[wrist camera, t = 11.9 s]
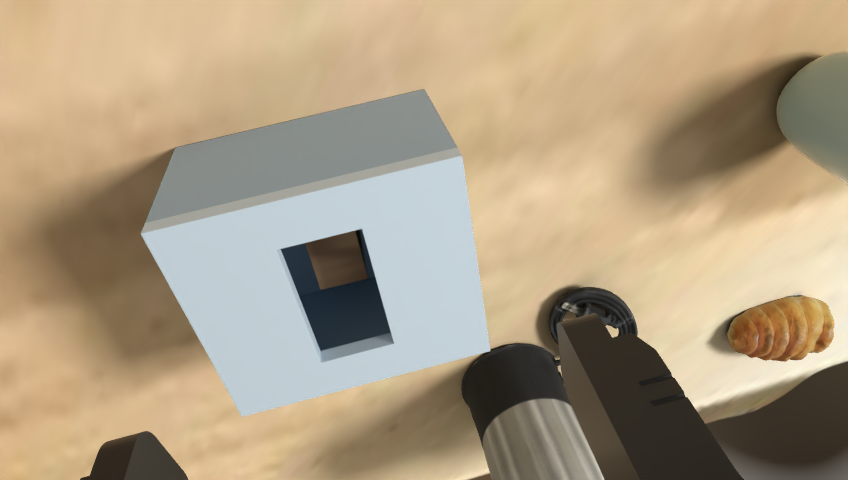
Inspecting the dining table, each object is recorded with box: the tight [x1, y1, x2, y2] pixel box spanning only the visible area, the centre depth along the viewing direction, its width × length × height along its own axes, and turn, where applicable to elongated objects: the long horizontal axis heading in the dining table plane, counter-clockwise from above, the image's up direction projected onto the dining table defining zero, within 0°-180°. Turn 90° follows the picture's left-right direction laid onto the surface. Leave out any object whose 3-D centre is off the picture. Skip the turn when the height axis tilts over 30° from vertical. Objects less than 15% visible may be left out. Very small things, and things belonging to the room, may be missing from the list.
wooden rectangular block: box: [305, 230, 368, 290], centre depth 37 cm, size 3×6×6 cm
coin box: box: [141, 89, 490, 417], centre depth 36 cm, size 16×14×10 cm
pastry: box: [727, 296, 834, 362], centre depth 55 cm, size 9×7×4 cm
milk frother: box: [462, 287, 638, 480], centre depth 46 cm, size 14×16×15 cm
